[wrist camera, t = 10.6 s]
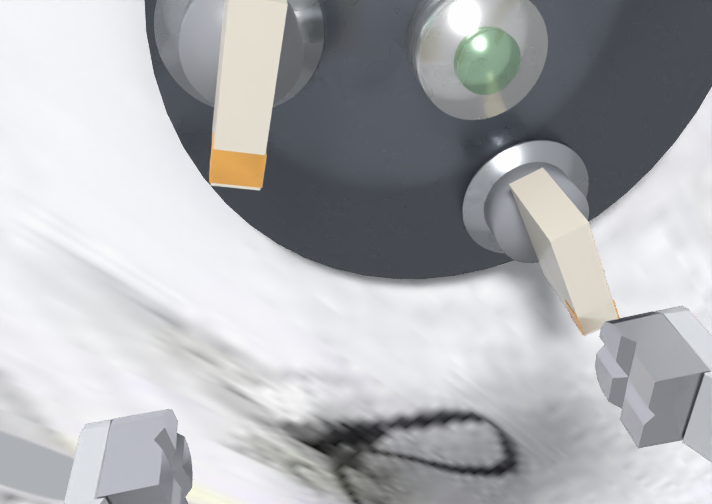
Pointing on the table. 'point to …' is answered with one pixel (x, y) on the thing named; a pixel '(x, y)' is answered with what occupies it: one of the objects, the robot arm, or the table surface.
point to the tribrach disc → (449, 118)
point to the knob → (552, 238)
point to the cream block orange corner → (240, 77)
